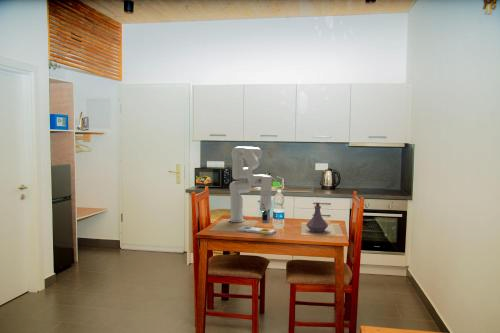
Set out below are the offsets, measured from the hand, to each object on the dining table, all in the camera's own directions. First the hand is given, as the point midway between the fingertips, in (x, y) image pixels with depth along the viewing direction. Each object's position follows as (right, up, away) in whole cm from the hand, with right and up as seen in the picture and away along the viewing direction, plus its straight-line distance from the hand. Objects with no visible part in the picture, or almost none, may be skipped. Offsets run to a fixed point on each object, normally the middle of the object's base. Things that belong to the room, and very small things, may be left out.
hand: (265, 219), depth 274 cm
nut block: (0, -2, 0) cm, 2 cm away
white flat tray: (-7, -9, +4) cm, 12 cm away
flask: (+37, -9, +8) cm, 39 cm away
